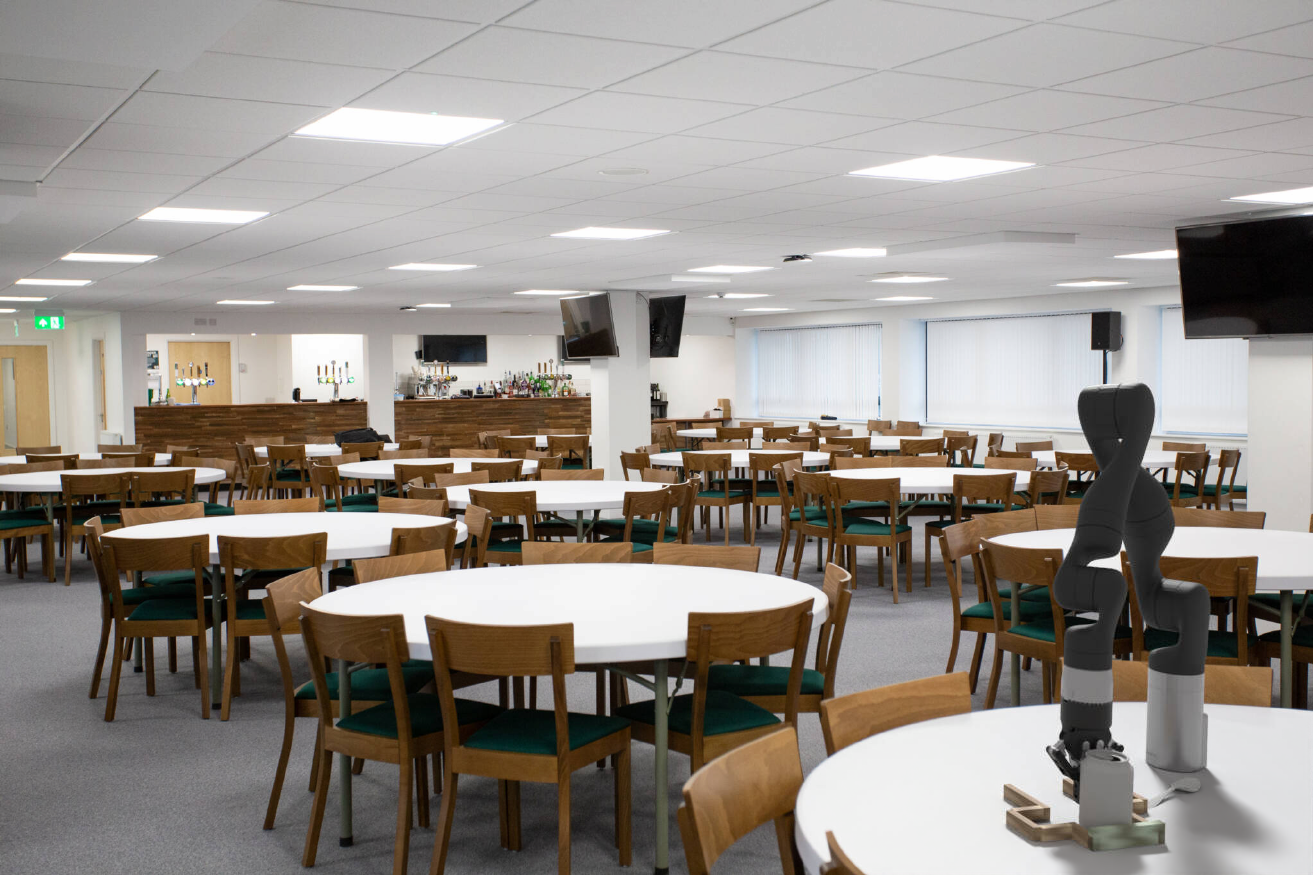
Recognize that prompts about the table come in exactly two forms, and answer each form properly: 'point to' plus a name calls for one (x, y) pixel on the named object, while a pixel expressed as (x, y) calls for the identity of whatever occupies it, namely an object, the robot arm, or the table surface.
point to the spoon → (1187, 783)
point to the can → (1105, 789)
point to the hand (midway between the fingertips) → (1083, 804)
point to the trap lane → (1036, 827)
